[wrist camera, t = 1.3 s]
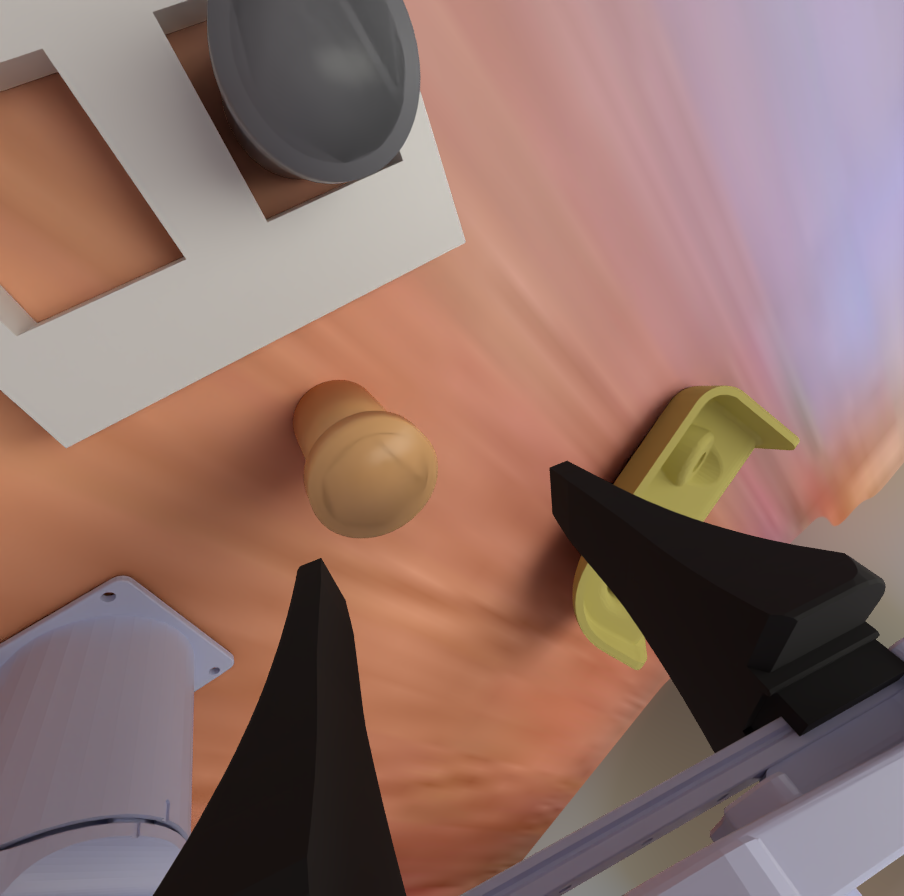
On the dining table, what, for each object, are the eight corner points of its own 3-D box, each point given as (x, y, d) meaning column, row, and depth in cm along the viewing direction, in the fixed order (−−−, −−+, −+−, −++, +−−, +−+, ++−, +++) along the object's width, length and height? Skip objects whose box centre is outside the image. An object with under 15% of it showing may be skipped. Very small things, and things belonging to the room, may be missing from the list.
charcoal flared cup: (263, 213, 16) (288, 212, 11) (170, 43, 13) (151, -55, 8) (377, 161, 17) (445, 140, 12) (313, -7, 14) (369, -121, 9)
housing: (79, 425, 16) (66, 448, 14) (-397, -25, 9) (-523, -75, 7) (444, 240, 19) (465, 242, 18) (299, -199, 12) (313, -262, 11)
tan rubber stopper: (317, 484, 21) (349, 559, 17) (261, 405, 19) (280, 469, 14) (401, 433, 22) (454, 492, 18) (359, 352, 20) (408, 395, 15)
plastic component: (717, 370, 29) (817, 452, 31) (650, 374, 36) (734, 440, 38) (547, 617, 29) (655, 682, 31) (515, 572, 36) (604, 627, 38)
